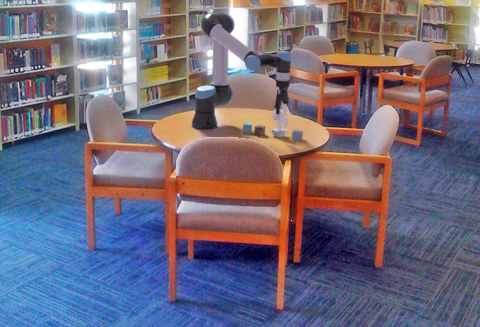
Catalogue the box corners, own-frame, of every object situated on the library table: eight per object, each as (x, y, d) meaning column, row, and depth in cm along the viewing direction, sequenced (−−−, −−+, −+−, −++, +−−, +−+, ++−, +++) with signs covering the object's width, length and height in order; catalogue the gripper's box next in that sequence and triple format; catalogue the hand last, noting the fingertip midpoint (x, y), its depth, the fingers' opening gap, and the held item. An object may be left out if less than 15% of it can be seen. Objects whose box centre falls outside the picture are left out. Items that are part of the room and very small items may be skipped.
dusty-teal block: (242, 133, 337) (243, 124, 336) (243, 130, 342) (243, 122, 341) (251, 133, 337) (251, 125, 336) (251, 131, 342) (252, 123, 340)
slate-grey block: (291, 140, 328) (292, 131, 326) (293, 137, 332) (294, 129, 331) (300, 141, 326) (301, 132, 325) (302, 139, 331) (303, 130, 329)
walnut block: (254, 135, 334) (254, 126, 332) (256, 133, 338) (257, 124, 337) (262, 136, 332) (262, 127, 331) (264, 134, 337) (265, 125, 336)
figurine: (282, 138, 329) (284, 112, 324) (268, 135, 334) (270, 109, 329) (289, 136, 334) (291, 110, 330) (275, 133, 339) (276, 108, 335)
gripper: (283, 83, 312) (281, 122, 318) (294, 77, 335) (292, 113, 341) (270, 82, 314) (268, 121, 320) (281, 76, 337) (279, 112, 343)
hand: (280, 117), depth 331 cm, fingers open, 13 cm apart
